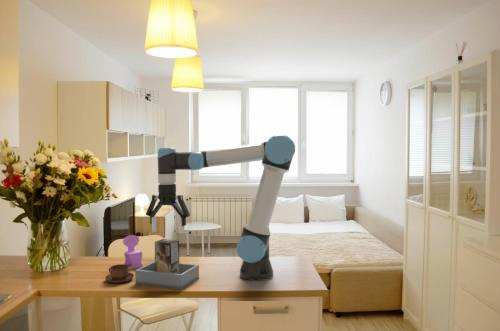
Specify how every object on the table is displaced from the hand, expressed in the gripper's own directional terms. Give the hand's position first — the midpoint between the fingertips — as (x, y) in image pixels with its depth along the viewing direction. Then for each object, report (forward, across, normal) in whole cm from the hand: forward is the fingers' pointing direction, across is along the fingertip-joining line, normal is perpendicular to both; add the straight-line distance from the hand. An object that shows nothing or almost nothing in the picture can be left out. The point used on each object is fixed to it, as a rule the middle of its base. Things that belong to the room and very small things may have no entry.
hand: (168, 232), depth 180 cm
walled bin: (+21, 0, 0) cm, 21 cm away
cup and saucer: (+21, +21, +6) cm, 31 cm away
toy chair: (+21, +28, -15) cm, 39 cm away
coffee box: (+20, +1, 0) cm, 20 cm away
